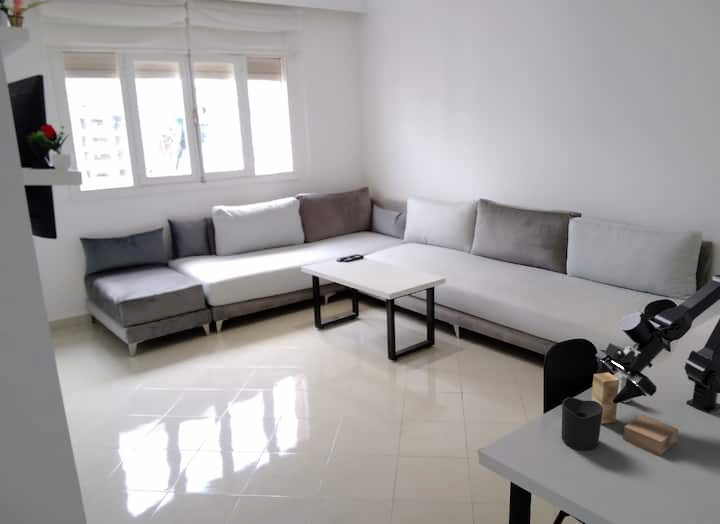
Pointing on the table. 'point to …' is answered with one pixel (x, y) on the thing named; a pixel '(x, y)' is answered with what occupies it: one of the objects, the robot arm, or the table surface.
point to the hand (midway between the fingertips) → (602, 394)
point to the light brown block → (650, 434)
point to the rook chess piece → (623, 384)
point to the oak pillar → (605, 395)
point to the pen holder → (581, 423)
